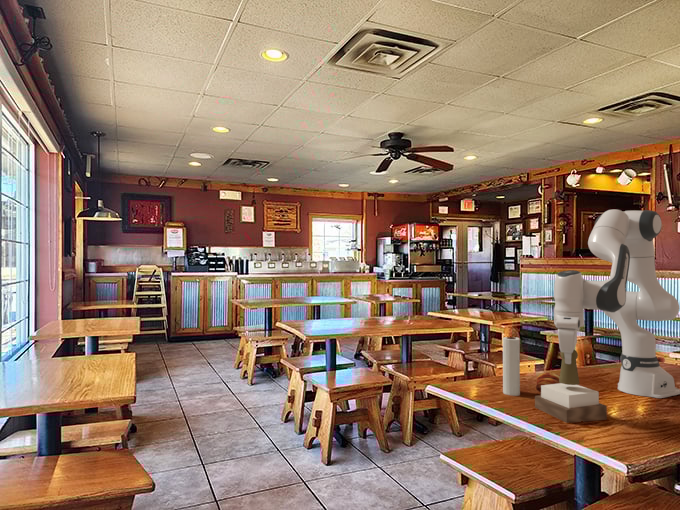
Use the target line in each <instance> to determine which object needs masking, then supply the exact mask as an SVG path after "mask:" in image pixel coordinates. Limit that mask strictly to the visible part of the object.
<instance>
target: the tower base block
mask: <svg viewBox="0 0 680 510" xmlns="http://www.w3.org/2000/svg"><path fill="white" fill-rule="evenodd" d="M534 408H535V409H537V410H539V411H542V412H544V413H546V414H548V415H549V416H551V417H553V418H556V419H558V420H560V421H562V422H564V423H567V424H569V422H570V423H582V422H581V421H583V422H592V421H606V420H607V419H608V418H607V417H608V413H607V412H608V411H607V409H608V408H607V405H605V404H602V403H601V402H599V404H597V405H590V406H582V407H575V408H567V407H565V406H562V405H560V404H557V403H554V402H552V401H549V400H547V399H544V398H542V397H541V394H540V395H534Z"/></svg>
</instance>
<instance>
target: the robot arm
mask: <svg viewBox="0 0 680 510" xmlns="http://www.w3.org/2000/svg"><path fill="white" fill-rule="evenodd" d="M662 223H663V222H662V218H661V216H660V214H659V213H658V212H657V211H655V210H648V209H644V210H635V209H634V210H625V211H622V210H621V209H608V210H606V211H604V212H603V213H602V214H601V215H598V217H597V218H596V219H595V221H594V226H593V228H592V230H591V232H590V234H589V237H588V241H587V245H588V249H589V250H590V252H591V253H592V254H593V255H594V256H595V257H597V258H599V259H600V260H603V261H606V262H609V263H611V264H612V265H611V269H610V276H609V277H608V279H604V280H588V279H585V278H583V275H582V272H581V271H579V270H563V271H559V272H557V273H556V275H555V278H554V284H553V285H554V286H553V298H554V304H555V305H554V308H553V324H554V325H555V328H557V336H558V345H559V347H558V348H559V351H560V352H564V356H565V363H566V364H571V355H572V353H573V350H575V348H576V346H577V343H578V332H579V331H580V328H581V327H584V326H585V310H584V309H587V310H597V311H602V312H603V313H604V314H605V315H606V316H607V317H608V318H609V319H611V320H612V321H613V322H614V323H615V325H616V327H617V328H618V330H619V332H620V337H621V346H622V347H621V350H622V352H621V354H620V362H621V366H620V370H619V371H620V373H619V381H618V382H617V390H618V391H620V392H623V393H626V394H630V395H635V396H641V397H650V398H656V399H662V398H663V399H664V398H668V397H672V396H677V395H680V388H678V387H676V385H675V378H674V377H673V375H672V374H670V373H669V372H668V371H666V370H665V369H664V368H663V367H661V364H664V363H665V362H666V359H665V357H661V356H657V347H656V346H657V345H656V341H657V339H656V337H655V335H654V334H653V333H652V332H650V331H649V330H647V329H645V328H644V327H641V326H640V325H639V324H638V322H637V321H649V322H650V321H653V322H663V321H664V322H666V321H673V320H674V319H676V317H677V316H678V314H679V312H680V303H679V300H678V299H677V298H676V297H675V296H674V295H673V294H671V293H670V292H668V291H667V290H665V288H664V287H663V286H662V285H661V283H660V282H659V280H658V277H657V272H656V265H655V264H656V262H655V261H656V259H655V257H656V256H655V246H654V239H655V238H657V236H659V234H660V233H661V230H662V226H663V225H662ZM627 282H629V283H632V284H634V285H636V286H637V287H638V288H639V290H638V291H629V290H627ZM660 363H661V364H660Z"/></svg>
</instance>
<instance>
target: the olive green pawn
mask: <svg viewBox="0 0 680 510" xmlns="http://www.w3.org/2000/svg"><path fill="white" fill-rule="evenodd" d="M559 353H560V355H559V356H560V358H561V366H560V373H559V376H560V378H559V382H560V383H563V384H568V385H580V378H579V371H578V366H577V365H578V364H577V359H578V356H579V354H578V351H577V350H576V349H574V350H573V353H572V355H571V364H566V363H565V356H564V352H561V351H560V352H559Z"/></svg>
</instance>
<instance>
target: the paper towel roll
mask: <svg viewBox="0 0 680 510" xmlns="http://www.w3.org/2000/svg"><path fill="white" fill-rule="evenodd" d="M520 341H521V339H520V338H519V337H517V336H516V337H513V336H505V337H502V393H503V394H504V395H507V396H512V397H515V396H516V397H517V396H518V397H519V396H520V395H521V386H520V385H521V382H520V381H521V377H520V376H521V374H520V373H521V372H520V371H521V370H520V368H521V367H520V366H521V365H520V363H521V362H520V359H521V358H520V355H521V353H520V351H521V350H520V349H521V348H520V347H521V345H520V343H521V342H520Z"/></svg>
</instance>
